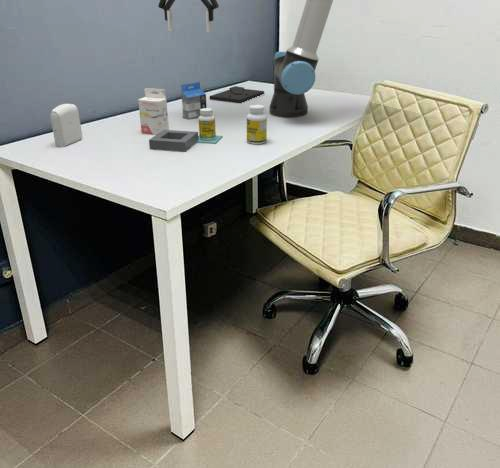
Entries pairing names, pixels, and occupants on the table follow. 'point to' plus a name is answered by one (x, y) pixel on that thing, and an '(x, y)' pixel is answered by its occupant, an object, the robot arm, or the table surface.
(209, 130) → the supplement bottle
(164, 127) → the ink cartridge box
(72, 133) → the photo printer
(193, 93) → the label tape cartridge
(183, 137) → the socket frame
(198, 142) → the coaster
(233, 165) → the table surface
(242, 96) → the black ridged flat slab
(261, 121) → the pill bottle
